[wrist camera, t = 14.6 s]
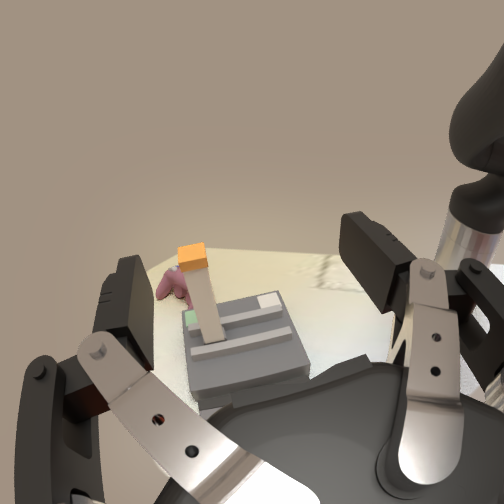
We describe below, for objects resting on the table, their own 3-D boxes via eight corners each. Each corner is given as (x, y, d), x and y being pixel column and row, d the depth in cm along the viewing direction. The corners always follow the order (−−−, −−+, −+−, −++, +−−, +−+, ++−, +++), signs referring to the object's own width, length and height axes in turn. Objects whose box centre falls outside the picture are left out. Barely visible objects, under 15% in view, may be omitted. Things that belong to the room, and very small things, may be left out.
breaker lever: (224, 330, 40) (204, 241, 31) (228, 346, 37) (207, 257, 29) (203, 334, 39) (176, 247, 31) (205, 350, 37) (177, 263, 28)
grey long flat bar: (306, 380, 35) (307, 374, 35) (314, 398, 33) (315, 393, 32) (200, 405, 34) (197, 400, 33) (203, 424, 31) (200, 420, 30)
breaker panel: (278, 303, 47) (277, 282, 45) (309, 375, 36) (311, 356, 33) (186, 323, 45) (179, 304, 43) (195, 401, 34) (186, 385, 31)
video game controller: (209, 318, 48) (216, 279, 46) (188, 325, 44) (194, 284, 43) (173, 294, 54) (177, 258, 52) (153, 298, 50) (156, 261, 48)
